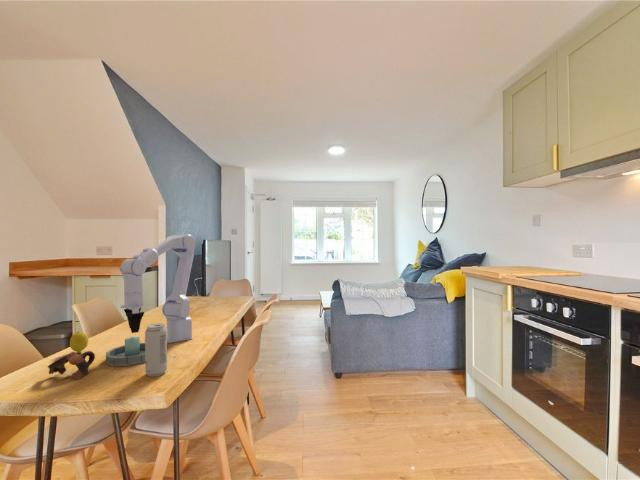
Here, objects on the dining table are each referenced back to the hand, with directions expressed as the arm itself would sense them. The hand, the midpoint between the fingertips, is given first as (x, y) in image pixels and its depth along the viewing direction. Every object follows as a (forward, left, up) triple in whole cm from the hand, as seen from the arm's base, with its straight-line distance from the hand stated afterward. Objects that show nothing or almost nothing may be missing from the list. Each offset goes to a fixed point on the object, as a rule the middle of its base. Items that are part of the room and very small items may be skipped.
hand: (134, 329), depth 118 cm
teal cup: (+1, +2, -9) cm, 9 cm away
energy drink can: (-4, +22, -10) cm, 25 cm away
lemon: (+17, -16, -10) cm, 25 cm away
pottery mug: (+17, +8, -10) cm, 21 cm away
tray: (+1, +2, -9) cm, 10 cm away
